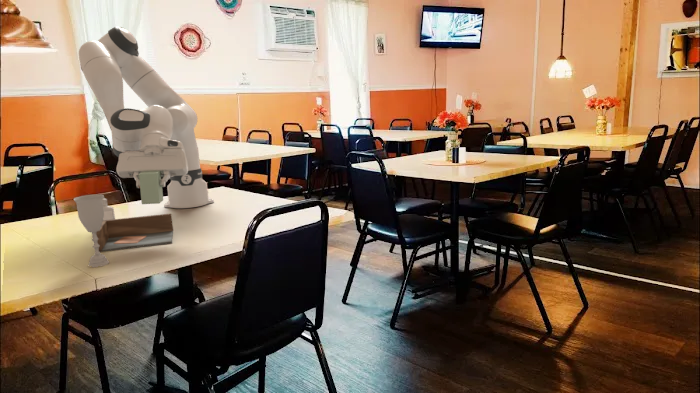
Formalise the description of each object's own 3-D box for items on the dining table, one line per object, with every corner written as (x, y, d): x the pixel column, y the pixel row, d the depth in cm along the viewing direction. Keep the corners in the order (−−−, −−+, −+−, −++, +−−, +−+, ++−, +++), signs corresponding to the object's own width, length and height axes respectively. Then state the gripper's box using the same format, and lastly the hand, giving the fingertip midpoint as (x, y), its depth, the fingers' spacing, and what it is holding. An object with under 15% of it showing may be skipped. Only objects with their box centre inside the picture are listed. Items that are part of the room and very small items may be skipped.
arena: (105, 239, 161) (102, 220, 160) (173, 231, 167) (171, 213, 165) (97, 252, 148) (94, 231, 147) (171, 243, 153) (169, 223, 152)
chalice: (98, 258, 142) (88, 194, 138) (119, 260, 140) (110, 194, 136) (77, 267, 135) (66, 199, 131) (99, 269, 133) (88, 200, 129)
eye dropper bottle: (110, 233, 168) (104, 196, 166) (95, 232, 170) (89, 196, 167) (118, 229, 172) (114, 194, 170) (104, 229, 174) (99, 193, 171)
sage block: (146, 201, 157) (143, 171, 155) (163, 200, 157) (160, 170, 156) (141, 204, 152) (138, 173, 150) (159, 203, 152) (156, 173, 151)
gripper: (116, 144, 157) (110, 181, 149) (186, 142, 159) (183, 178, 152) (122, 157, 162) (116, 194, 154) (190, 155, 165) (187, 190, 157)
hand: (150, 186), depth 153 cm, fingers closed on sage block, 5 cm apart
